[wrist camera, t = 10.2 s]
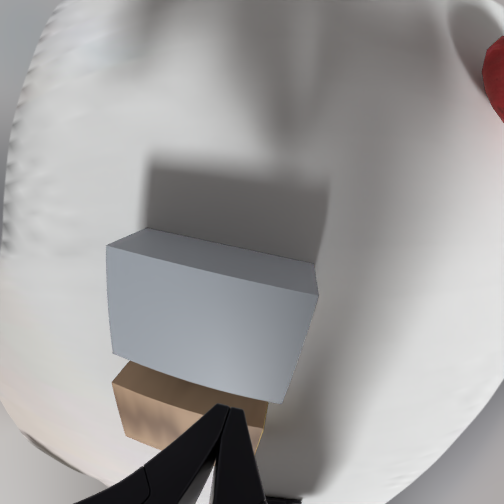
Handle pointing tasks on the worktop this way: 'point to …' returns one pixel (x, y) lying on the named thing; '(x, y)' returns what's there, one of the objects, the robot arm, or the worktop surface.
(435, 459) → the worktop surface
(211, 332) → the grey block
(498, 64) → the onion
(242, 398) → the walnut block
